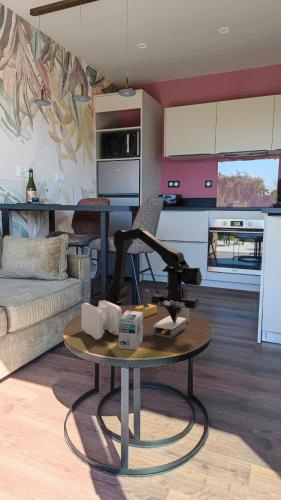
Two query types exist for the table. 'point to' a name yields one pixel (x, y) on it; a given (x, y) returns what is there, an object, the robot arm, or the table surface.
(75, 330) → the table surface
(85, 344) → the table surface
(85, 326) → the cable organizer
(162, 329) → the cable duct
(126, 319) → the light bulb box
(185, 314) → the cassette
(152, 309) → the rubber stamp
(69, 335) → the table surface
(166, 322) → the white rectangular panel
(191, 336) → the table surface
